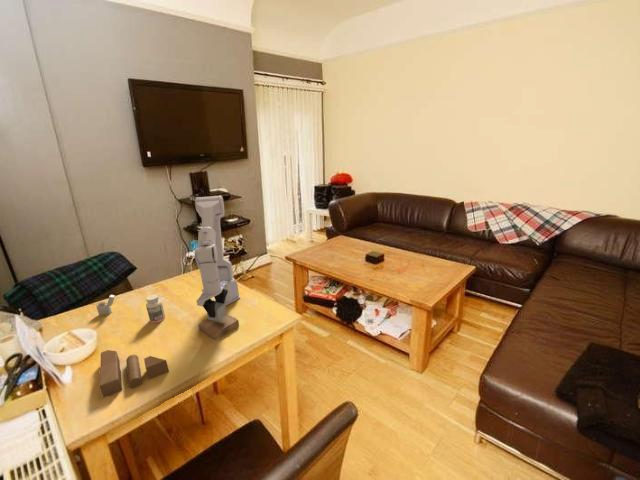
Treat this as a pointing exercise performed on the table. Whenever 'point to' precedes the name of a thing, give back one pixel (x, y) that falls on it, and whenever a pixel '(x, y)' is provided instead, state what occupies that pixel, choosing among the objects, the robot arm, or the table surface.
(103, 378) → the wooden block set
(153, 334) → the table surface
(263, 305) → the table surface
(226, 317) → the walnut block
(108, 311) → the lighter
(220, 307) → the grey cube
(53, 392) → the table surface
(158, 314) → the pill bottle
